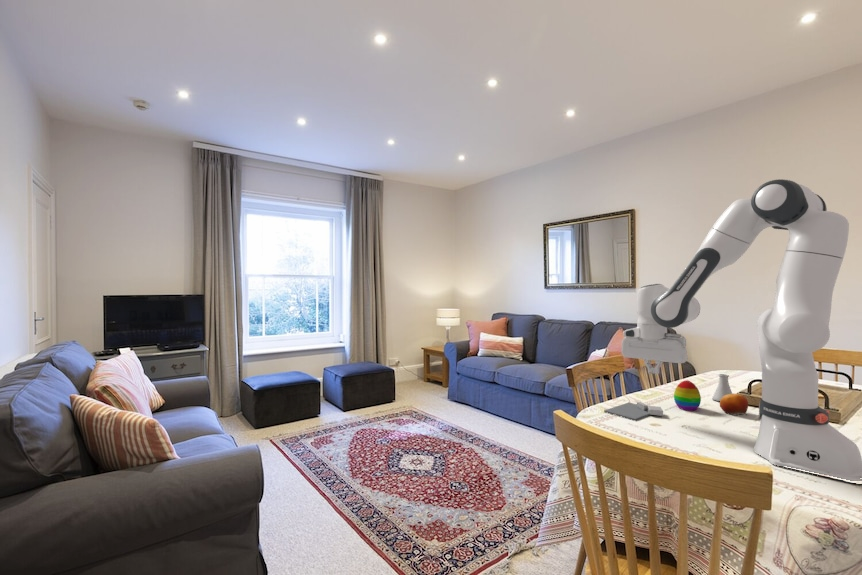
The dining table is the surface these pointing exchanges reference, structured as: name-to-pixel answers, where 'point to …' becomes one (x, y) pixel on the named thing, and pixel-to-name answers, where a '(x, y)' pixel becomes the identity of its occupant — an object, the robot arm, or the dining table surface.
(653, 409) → the lighter
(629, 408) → the mat
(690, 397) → the decorative egg
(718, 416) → the dining table surface
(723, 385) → the flask
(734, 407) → the fruit
